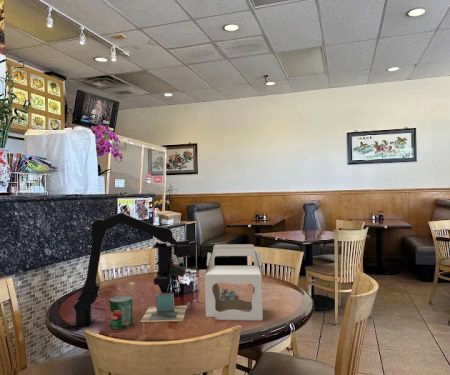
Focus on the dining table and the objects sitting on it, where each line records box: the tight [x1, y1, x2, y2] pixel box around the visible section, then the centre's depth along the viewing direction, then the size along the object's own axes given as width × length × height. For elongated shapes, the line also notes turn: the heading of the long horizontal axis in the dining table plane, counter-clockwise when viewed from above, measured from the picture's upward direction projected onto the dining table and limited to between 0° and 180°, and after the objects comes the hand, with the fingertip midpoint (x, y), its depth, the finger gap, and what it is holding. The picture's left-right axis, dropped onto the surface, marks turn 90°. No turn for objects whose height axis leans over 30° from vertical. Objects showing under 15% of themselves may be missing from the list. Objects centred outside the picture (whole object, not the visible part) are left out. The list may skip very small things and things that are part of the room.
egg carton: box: [219, 287, 238, 301], centre depth 162 cm, size 11×8×4 cm
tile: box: [154, 292, 175, 312], centre depth 140 cm, size 2×7×8 cm, turn 92°
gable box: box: [204, 243, 264, 321], centre depth 141 cm, size 22×13×28 cm, turn 84°
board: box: [139, 305, 188, 323], centre depth 140 cm, size 18×16×1 cm
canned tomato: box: [109, 294, 133, 334], centre depth 127 cm, size 8×8×11 cm
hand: (165, 297), depth 142 cm, fingers closed
